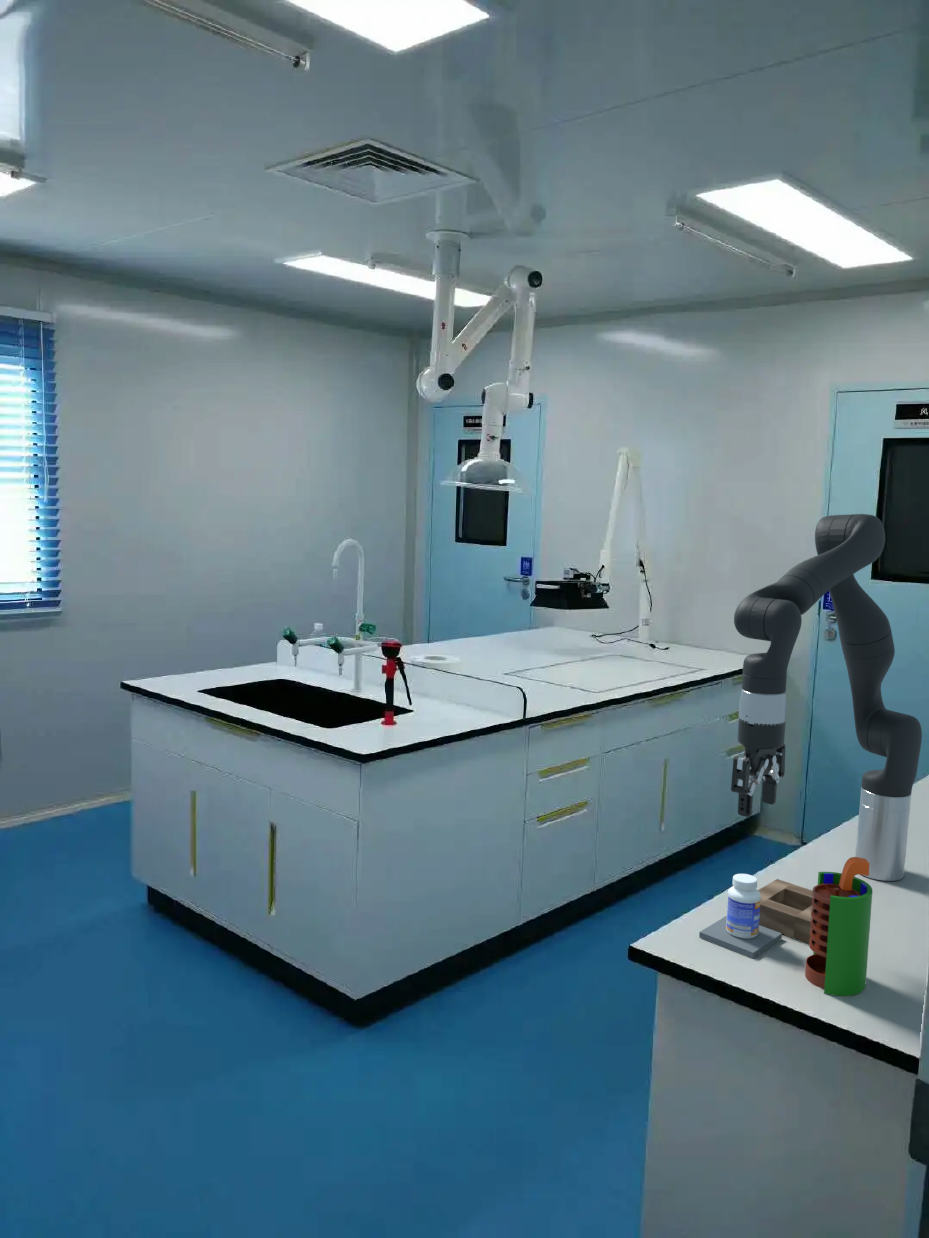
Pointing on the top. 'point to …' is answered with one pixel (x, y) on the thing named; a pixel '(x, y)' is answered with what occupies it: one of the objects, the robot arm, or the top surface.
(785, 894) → the socket block
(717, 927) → the mat
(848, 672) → the robot arm
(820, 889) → the green brown cylinder
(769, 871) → the top surface
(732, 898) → the pill bottle
